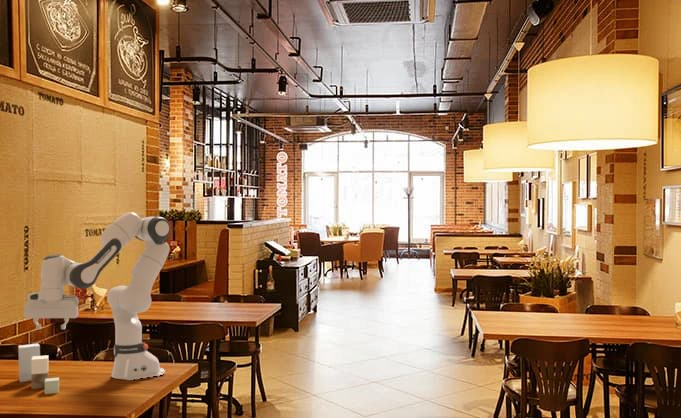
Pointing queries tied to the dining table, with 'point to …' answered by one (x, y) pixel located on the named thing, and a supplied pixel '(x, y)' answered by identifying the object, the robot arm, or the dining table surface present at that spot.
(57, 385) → the block small
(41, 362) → the block top
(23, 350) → the skincare box
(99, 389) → the dining table surface
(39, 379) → the block bottom
